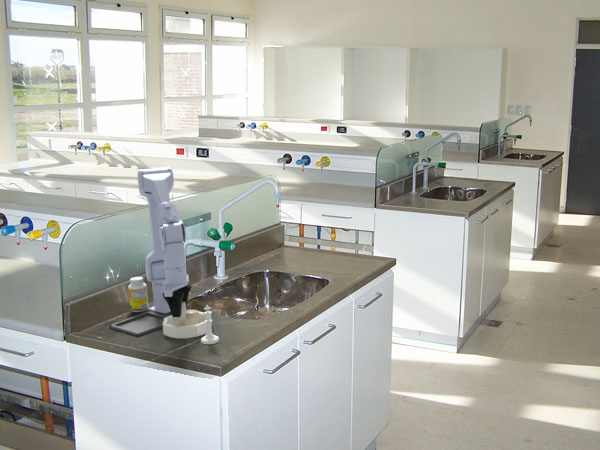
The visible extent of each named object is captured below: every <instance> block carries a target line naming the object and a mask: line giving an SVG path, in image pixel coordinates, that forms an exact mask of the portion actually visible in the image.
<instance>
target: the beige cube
mask: <svg viewBox="0 0 600 450" xmlns="http://www.w3.org/2000/svg"><path fill="white" fill-rule="evenodd" d="M198 311H199V310H197V309H188V310H186V314H187V319H186V320H185V326H191V325H196V324H199V312H200V311H199V312H198Z"/></svg>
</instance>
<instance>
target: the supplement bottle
mask: <svg viewBox="0 0 600 450" xmlns="http://www.w3.org/2000/svg"><path fill="white" fill-rule="evenodd" d="M129 283H130V284H129V285H128V287H127V289H128V300H129V299H130V300H129V307H130V306H131V309H130V311H131V312H133V313H138V312H139V313H140V312H145V311H147V310H149V309H148V308H150V305H149V295H148V288H147V287H148V286H147V284H146V283H145V282H144V277H143V276H135V277H131V278H130V280H129Z"/></svg>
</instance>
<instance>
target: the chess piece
mask: <svg viewBox="0 0 600 450" xmlns="http://www.w3.org/2000/svg"><path fill="white" fill-rule="evenodd" d="M205 306H206V307H204V308H203V309H204V310H205V311H204V312H203V313H204V315H205V317H206V320H205V323H207V333H206V334H204V335H205V336H203V337H201V339H200V343H201V344H202V345H213V344H217V343H219V342H220V337H219V336H217V335H215V334H213V329H212V322H213V319H212V311H210V310H212V307H210V306H209V305H208V304H207V305H205ZM210 318H211V319H210Z"/></svg>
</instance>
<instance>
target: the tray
mask: <svg viewBox="0 0 600 450" xmlns="http://www.w3.org/2000/svg"><path fill="white" fill-rule="evenodd" d="M166 317H168V316H166V315H163V314H158V313H157V312H151V311H146V312H145V311H144V312H143V313H139V314H137V315H134V316H132V317H129V318H126V319H123V320H121V321H117V322H113V323H111V324H109V328H110V329H112V330H115V331H118V332H122V333H125V334H128V335H132V336H135V337H141V336H144V335H147V334H149V333H151V332H154V331H156V330H158V329H159V330H160V329H163V321H164V318H166Z"/></svg>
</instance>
